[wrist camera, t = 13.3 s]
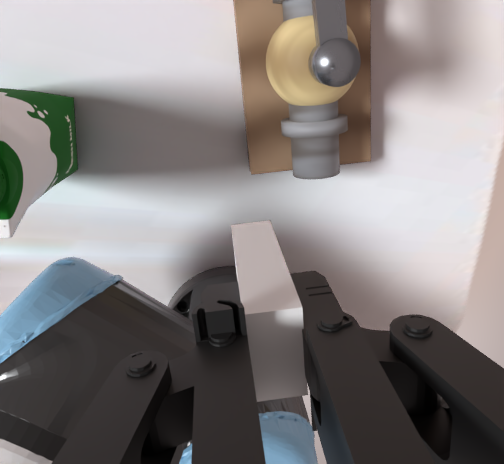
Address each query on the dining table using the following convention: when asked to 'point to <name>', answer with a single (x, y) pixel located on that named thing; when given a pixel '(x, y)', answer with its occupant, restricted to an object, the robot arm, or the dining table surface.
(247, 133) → the valve rig
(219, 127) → the dining table surface
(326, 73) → the lever
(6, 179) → the milk carton
